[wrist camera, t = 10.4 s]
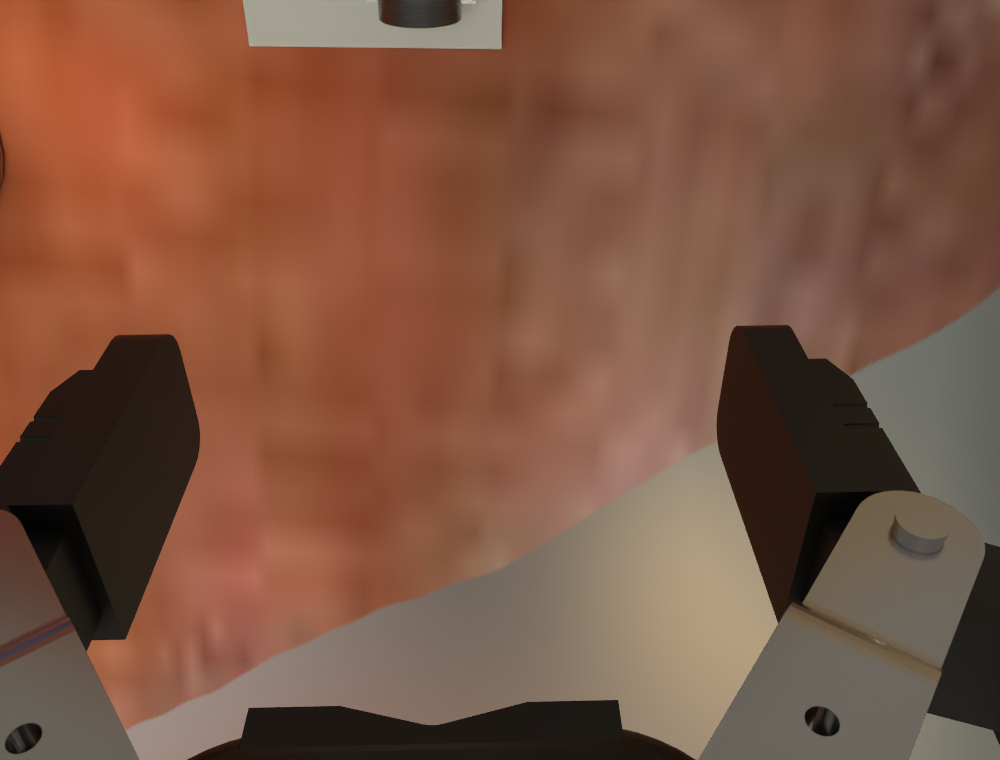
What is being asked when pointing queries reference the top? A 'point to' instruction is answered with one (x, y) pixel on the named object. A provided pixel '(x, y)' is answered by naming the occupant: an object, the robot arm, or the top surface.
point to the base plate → (365, 26)
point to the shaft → (420, 12)
